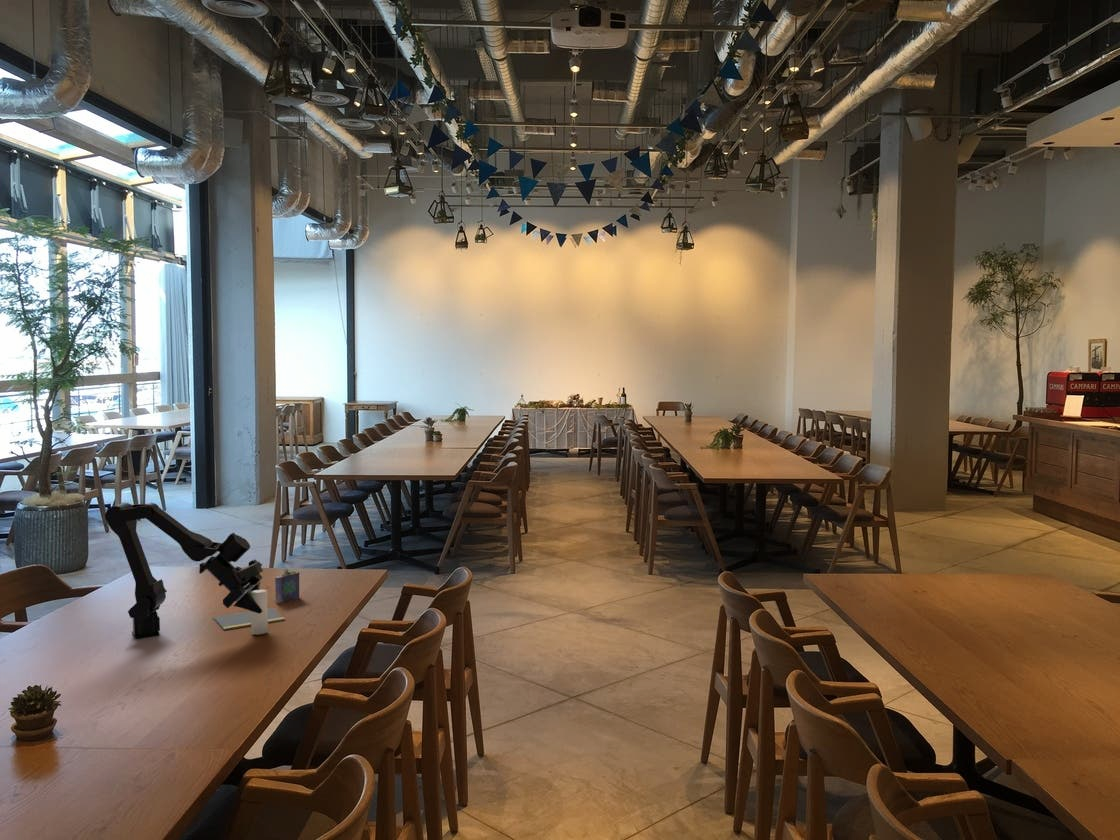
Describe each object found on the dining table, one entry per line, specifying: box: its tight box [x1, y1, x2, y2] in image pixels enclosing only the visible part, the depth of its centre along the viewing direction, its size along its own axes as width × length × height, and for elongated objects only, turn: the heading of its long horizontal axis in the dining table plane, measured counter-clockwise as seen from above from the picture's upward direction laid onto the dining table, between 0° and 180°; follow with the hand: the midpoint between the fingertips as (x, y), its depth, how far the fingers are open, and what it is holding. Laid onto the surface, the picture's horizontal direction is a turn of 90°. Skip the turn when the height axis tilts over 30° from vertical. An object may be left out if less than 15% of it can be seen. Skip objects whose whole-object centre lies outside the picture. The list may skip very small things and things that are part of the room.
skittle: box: [250, 589, 269, 635], centre depth 255 cm, size 5×5×12 cm
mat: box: [213, 607, 286, 631], centre depth 269 cm, size 18×14×1 cm
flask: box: [274, 568, 300, 605], centre depth 289 cm, size 9×3×11 cm, turn 146°
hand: (264, 609), depth 255 cm, fingers closed on skittle, 5 cm apart
